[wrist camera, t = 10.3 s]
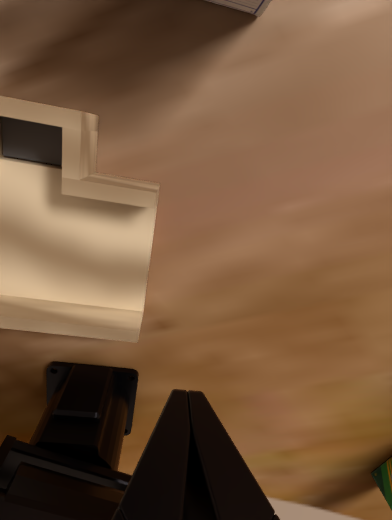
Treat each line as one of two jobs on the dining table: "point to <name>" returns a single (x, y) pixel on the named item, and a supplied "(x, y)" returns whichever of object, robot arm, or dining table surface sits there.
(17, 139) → the mats
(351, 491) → the dining table surface
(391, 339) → the dining table surface
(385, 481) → the crayon box
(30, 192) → the trap tray
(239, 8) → the medicine box
